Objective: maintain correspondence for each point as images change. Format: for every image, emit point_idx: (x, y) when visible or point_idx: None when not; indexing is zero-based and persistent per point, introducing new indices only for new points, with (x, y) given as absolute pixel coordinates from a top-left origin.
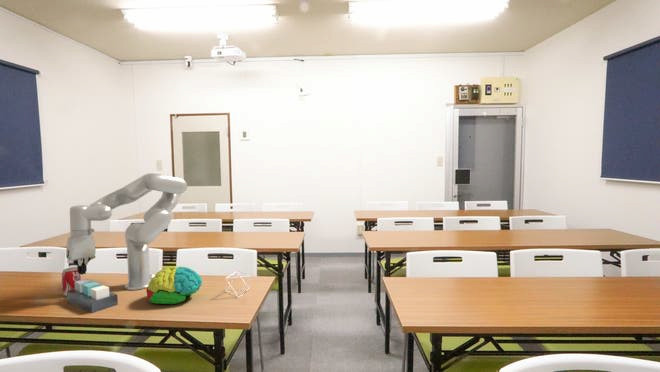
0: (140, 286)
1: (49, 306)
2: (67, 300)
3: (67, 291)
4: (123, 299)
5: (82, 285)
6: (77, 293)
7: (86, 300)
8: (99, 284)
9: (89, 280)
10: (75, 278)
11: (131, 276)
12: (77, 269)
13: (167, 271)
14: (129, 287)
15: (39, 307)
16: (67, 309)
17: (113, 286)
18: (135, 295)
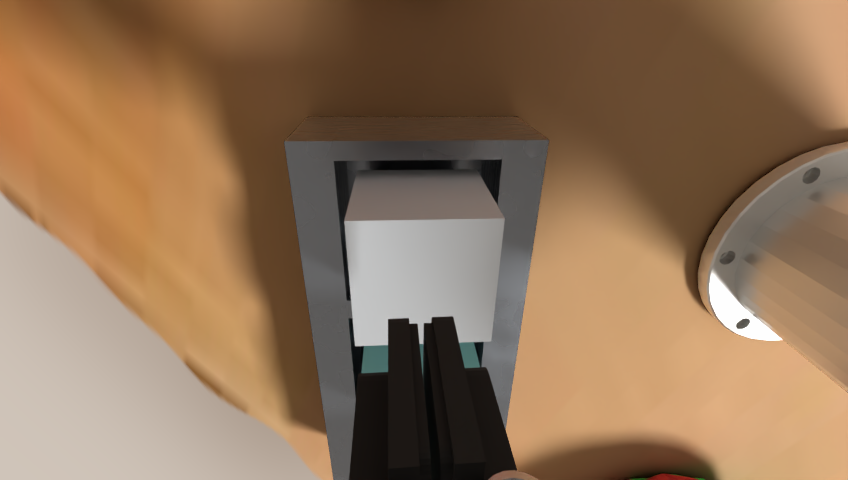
0: (752, 323)
1: (163, 112)
2: (306, 120)
3: (287, 152)
4: (548, 392)
5: None
6: (336, 297)
7: (331, 458)
8: None
9: (476, 316)
10: None
11: (815, 337)
12: (355, 413)
13: None
14: (714, 281)
15: (82, 55)
16: (262, 296)
17: (748, 54)
18: (624, 387)
